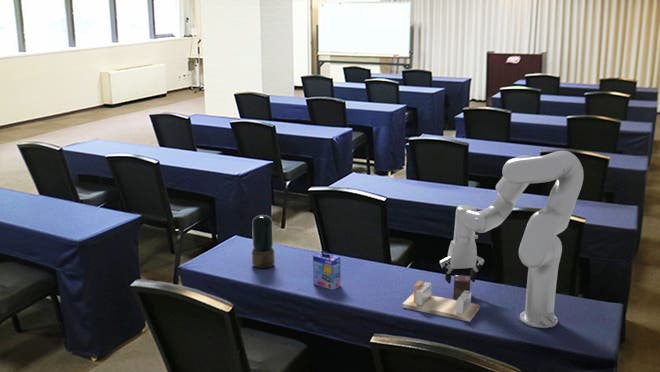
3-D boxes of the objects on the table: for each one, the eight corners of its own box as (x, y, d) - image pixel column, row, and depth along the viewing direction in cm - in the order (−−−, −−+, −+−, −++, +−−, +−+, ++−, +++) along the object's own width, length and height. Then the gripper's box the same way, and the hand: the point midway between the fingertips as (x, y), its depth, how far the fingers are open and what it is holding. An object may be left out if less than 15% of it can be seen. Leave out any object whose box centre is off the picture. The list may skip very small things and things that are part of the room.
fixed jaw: (470, 304, 243) (471, 291, 242) (462, 314, 235) (463, 301, 233) (464, 303, 244) (464, 290, 243) (455, 313, 236) (456, 300, 235)
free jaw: (430, 295, 250) (431, 280, 248) (421, 305, 241) (422, 289, 240) (420, 293, 252) (421, 278, 250) (411, 303, 243) (411, 287, 242)
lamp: (248, 263, 286) (247, 214, 281) (269, 260, 290) (268, 211, 285) (257, 271, 278) (255, 220, 272) (278, 267, 282) (277, 217, 277)
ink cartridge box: (312, 284, 264) (312, 249, 261) (320, 280, 269) (320, 245, 265) (333, 290, 259) (333, 254, 255) (341, 285, 263) (341, 250, 260)
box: (469, 300, 251) (470, 281, 249) (453, 298, 252) (454, 280, 250) (469, 293, 256) (470, 275, 255) (453, 292, 258) (454, 274, 256)
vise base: (479, 308, 243) (479, 304, 243) (469, 321, 233) (470, 317, 233) (413, 295, 254) (414, 291, 254) (402, 307, 244) (402, 303, 244)
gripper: (481, 234, 254) (477, 276, 259) (438, 236, 250) (435, 278, 255) (490, 241, 247) (485, 284, 251) (445, 243, 243) (442, 286, 248)
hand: (460, 281), depth 253 cm, fingers open, 9 cm apart
